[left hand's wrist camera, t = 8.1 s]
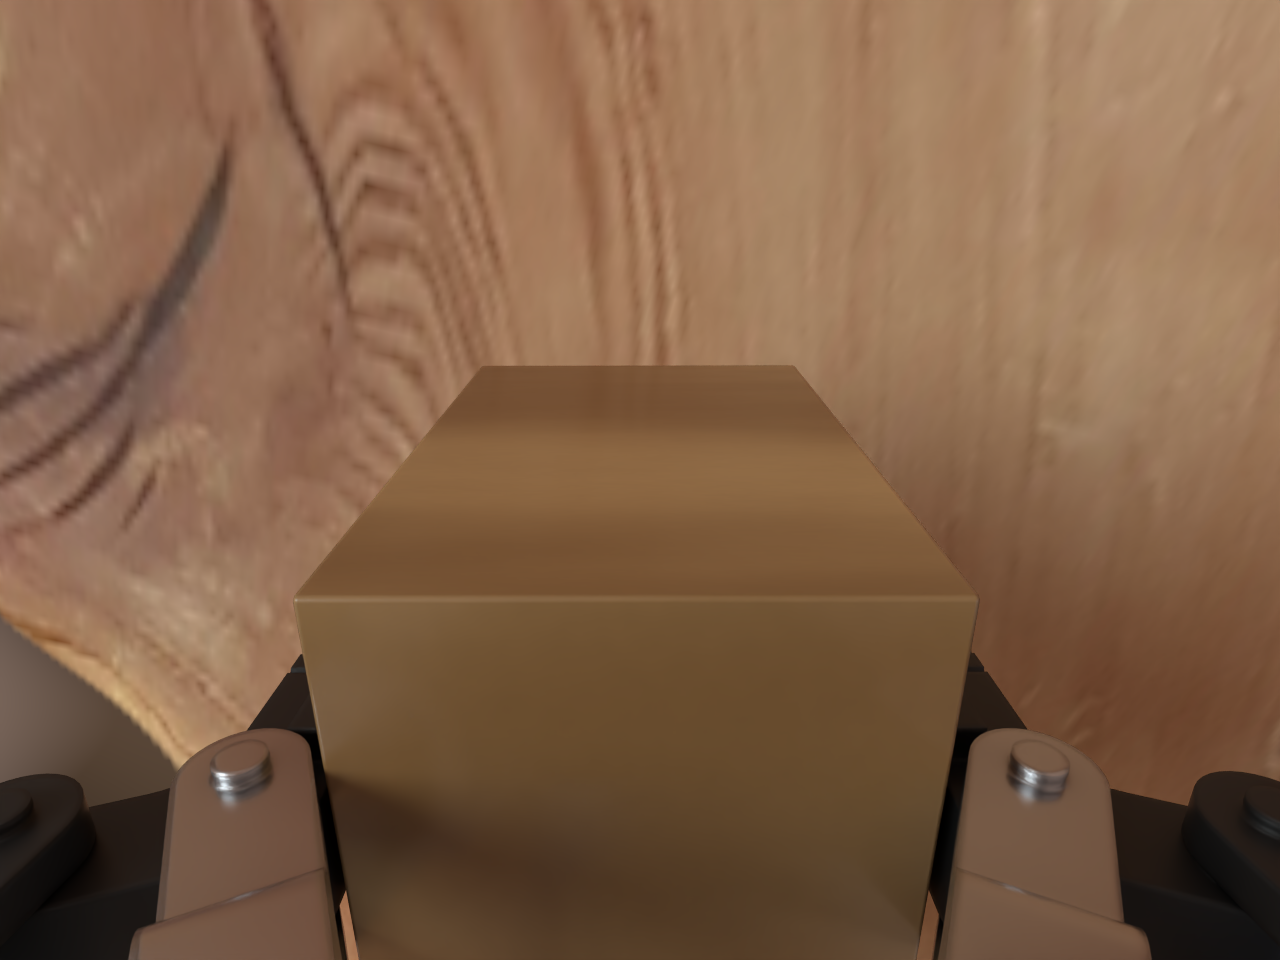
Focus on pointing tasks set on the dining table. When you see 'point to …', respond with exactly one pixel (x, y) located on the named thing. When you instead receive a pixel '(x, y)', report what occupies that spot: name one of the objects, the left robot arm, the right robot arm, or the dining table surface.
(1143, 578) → the dining table surface
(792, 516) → the bar
